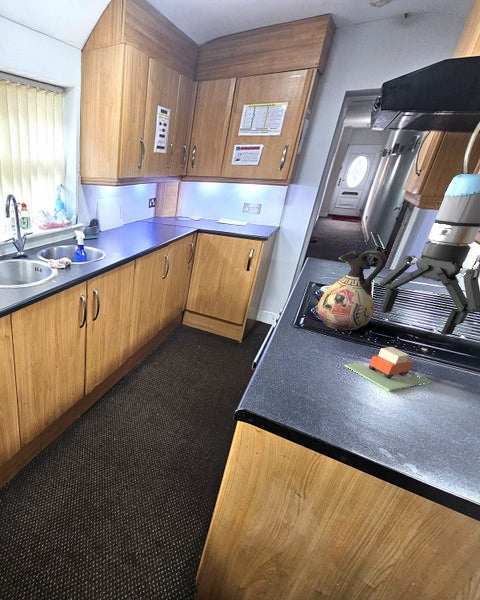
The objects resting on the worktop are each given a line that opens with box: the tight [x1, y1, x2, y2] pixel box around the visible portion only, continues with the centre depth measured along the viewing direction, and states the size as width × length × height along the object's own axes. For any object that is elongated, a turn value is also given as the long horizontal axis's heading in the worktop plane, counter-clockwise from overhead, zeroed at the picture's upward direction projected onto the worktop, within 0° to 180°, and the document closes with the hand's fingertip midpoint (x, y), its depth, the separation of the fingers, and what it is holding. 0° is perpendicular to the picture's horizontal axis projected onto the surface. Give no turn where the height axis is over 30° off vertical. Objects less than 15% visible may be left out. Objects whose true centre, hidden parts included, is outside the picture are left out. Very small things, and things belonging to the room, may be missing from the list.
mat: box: [343, 362, 433, 392], centre depth 92 cm, size 16×12×1 cm
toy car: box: [368, 346, 414, 379], centre depth 91 cm, size 8×5×7 cm, turn 104°
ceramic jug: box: [317, 249, 387, 331], centre depth 112 cm, size 17×15×30 cm
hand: (413, 322), depth 86 cm, fingers open, 13 cm apart
